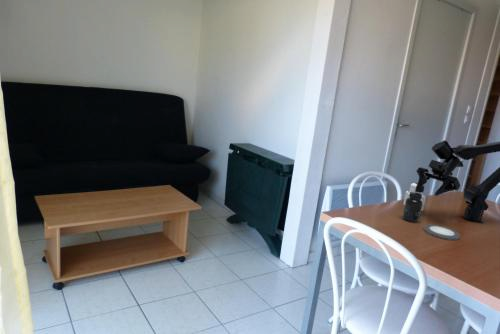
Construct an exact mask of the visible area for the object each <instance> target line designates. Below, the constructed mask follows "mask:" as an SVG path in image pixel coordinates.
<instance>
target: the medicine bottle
mask: <svg viewBox="0 0 500 334" xmlns="http://www.w3.org/2000/svg"><path fill="white" fill-rule="evenodd" d="M417 184H418V182H416V183H415V182H413V183H411V184H410V186H409V191H408V190H406V191H405V195H404V198H403V199H404V200H403V203H402V204H403V207H404V206H405V202H406V199H407V198H409V195H410V192H416V193H420V194H422V198H421V201H422V202H423V205H422V209H421V212H423V211H424V208H425V202H426V199H427V198H426V196H425V195H424V191H425V186H424V185H423V186H422V187H420V188H419V189H417V188H416V187H417Z"/></svg>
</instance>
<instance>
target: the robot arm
mask: <svg viewBox="0 0 500 334" xmlns="http://www.w3.org/2000/svg"><path fill="white" fill-rule="evenodd" d="M431 150H432V151H433V153H434V154H435V156H437V158H438V159H439V160H443V161H442V162H441V161H438V160H434V159H431V160H430V162H429V164H428V168H431V171H429V170H428V168H424V167H422V166H421V167H418V168H417V169H416V173H417V176H418V178H419V179H418V181H417V183H418V184H417V187H416V188H417V189H419V188H420V187H422V186H424V185H425V184H427V182H428V181H429V180H430V179H433V180H436V181H438V182H442V184H441V185H440V187H438V189H437V190H436V192H434V196H439V195H441V194H444V193H447V192H450V191H453V192H454V191H458V190H459V189H460V188H461V184H460V181H459V179H458V177H455V176H453V174H454V173H453V172H454V171H455V170H456V168H463V167H464V164H463V160H464V161H470V160H472V159H475V158H477V157H479V156H481V155H486V154H492V153H499V152H500V141H495V142H489V143H484V144H483V143H482V144H477V145H475V144H459V145H457V146H455V147H451V145H450V144H449V142H448V141H447V140H446V139H445V140H443V141H440V142H437V143H435V144H434V145H433V146H432V147H431ZM461 159H462V160H461ZM431 172H432V173H431ZM499 184H500V166H499V167H498V168H497V169H495V171H494V172H492V173H491V174H490V175H489V176H488V177H487V178H485V179H484V180H483V181H481V183H480V184H477V185H476V184H473V183H472V184H471V185H470V186H469V187H468V188H466V189H465V191H464V193H463V198H464V200H465V204H466V208H465V209H464V213H463V214H462V216H461V217H462V218H464V219H466V220H468V221H469V222H473V223H474V222H475V223H484V220H482V219H483V215H484V211H487V210H488V209H489V205H488V203H487V202H486V200H487V198H488V197H489V195H490V191H492V190H493V189H494V188H496V187H497V186H498V185H499Z"/></svg>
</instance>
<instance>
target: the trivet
mask: <svg viewBox="0 0 500 334" xmlns="http://www.w3.org/2000/svg"><path fill="white" fill-rule="evenodd" d="M423 231H424V232H425V233H427V234H428V235H430V236H432V235H433V237H435V238H437V237H438V239H441V238H442V239H441V240H445V239H447V240H446V241H458V240H460V238H461V235H460V234H461V233H459V232H458V231H456V230H454V229H452V228H449V227H446V226H442V225H437V224H426V225H424V226H423Z"/></svg>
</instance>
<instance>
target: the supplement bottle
mask: <svg viewBox="0 0 500 334" xmlns="http://www.w3.org/2000/svg"><path fill="white" fill-rule="evenodd" d="M421 198H422V194H420V193H416V192H410V195H409V198H407V199H406V202H405V206H404V205H403V211H402V219H403V220H405V221H407V222H411V223H418V222H419V221H420V218H421V212H422V211H421V209H422V205H423V202H422V201H421Z"/></svg>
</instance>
